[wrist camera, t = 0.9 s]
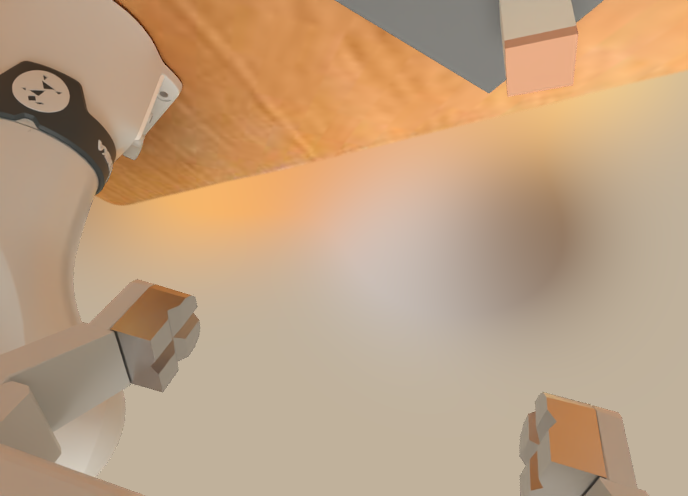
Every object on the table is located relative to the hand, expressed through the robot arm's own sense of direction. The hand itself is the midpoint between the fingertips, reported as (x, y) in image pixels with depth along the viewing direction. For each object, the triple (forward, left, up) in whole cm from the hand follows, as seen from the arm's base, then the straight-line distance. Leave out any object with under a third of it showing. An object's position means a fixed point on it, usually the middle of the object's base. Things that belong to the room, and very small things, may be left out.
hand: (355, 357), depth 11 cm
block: (-5, -17, -33) cm, 37 cm away
